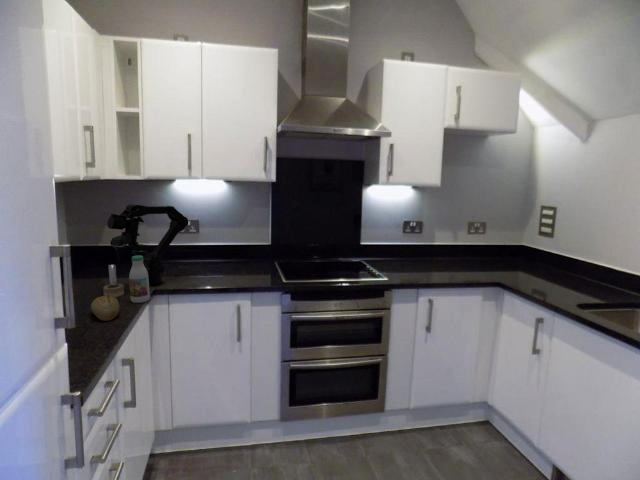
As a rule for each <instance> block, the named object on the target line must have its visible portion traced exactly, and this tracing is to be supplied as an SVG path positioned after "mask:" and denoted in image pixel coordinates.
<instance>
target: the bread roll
mask: <svg viewBox="0 0 640 480" xmlns="http://www.w3.org/2000/svg"><path fill="white" fill-rule="evenodd" d="M90 309H91V312H93V314H94V315H95V316H96V318H97V319H99V320H100V321H104V322H107V321H109V322H110V321H113V320H114V319H115V318H116V317H117V315H118V314H119V311H120V303H119V301H118V299H117V297H113V296H110V295H108V296H104V295H101V296H98V297H96V298H95V299H93V301H92V303H91V305H90Z"/></svg>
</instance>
